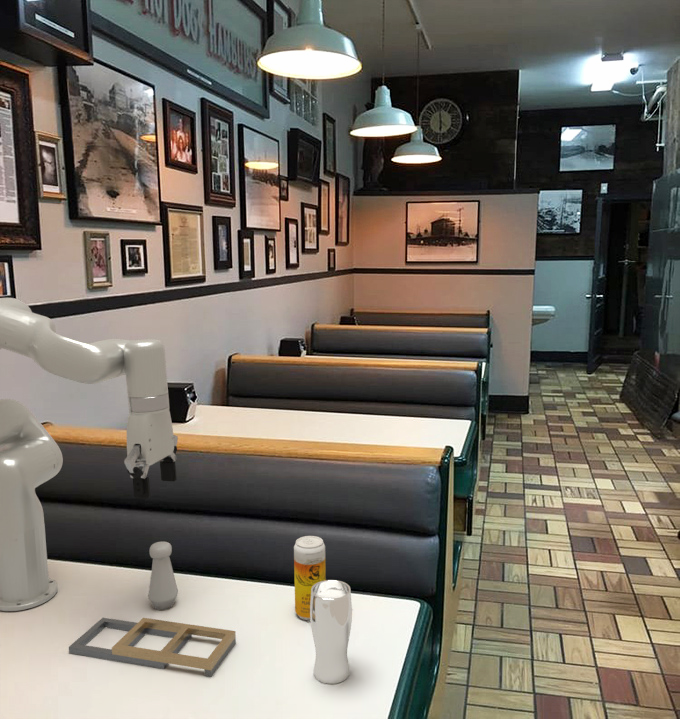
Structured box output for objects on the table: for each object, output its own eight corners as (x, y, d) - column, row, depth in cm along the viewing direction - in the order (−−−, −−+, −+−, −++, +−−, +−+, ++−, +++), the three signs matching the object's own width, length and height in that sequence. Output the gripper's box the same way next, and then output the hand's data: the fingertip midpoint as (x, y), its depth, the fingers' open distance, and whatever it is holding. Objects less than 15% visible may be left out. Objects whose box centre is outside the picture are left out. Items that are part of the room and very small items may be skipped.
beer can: (302, 625, 123) (301, 550, 121) (290, 610, 128) (288, 538, 126) (331, 616, 126) (330, 544, 123) (317, 602, 131) (316, 532, 129)
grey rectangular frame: (69, 653, 114) (68, 646, 114) (103, 623, 124) (102, 617, 124) (164, 669, 110) (163, 662, 109) (191, 636, 119) (191, 630, 119)
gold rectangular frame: (112, 660, 112) (111, 647, 112) (143, 629, 122) (143, 617, 121) (211, 677, 107) (210, 663, 107) (235, 643, 117) (235, 631, 117)
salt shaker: (182, 598, 133) (179, 538, 131) (172, 612, 127) (169, 550, 126) (155, 597, 134) (152, 537, 132) (144, 611, 128) (140, 549, 126)
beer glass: (338, 691, 104) (337, 604, 101) (302, 677, 107) (301, 592, 105) (359, 668, 109) (359, 585, 107) (325, 655, 113) (324, 575, 111)
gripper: (155, 394, 133) (162, 474, 136) (104, 413, 117) (113, 503, 119) (188, 394, 131) (194, 475, 134) (141, 414, 115) (149, 505, 117)
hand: (156, 488), depth 127 cm, fingers open, 9 cm apart
